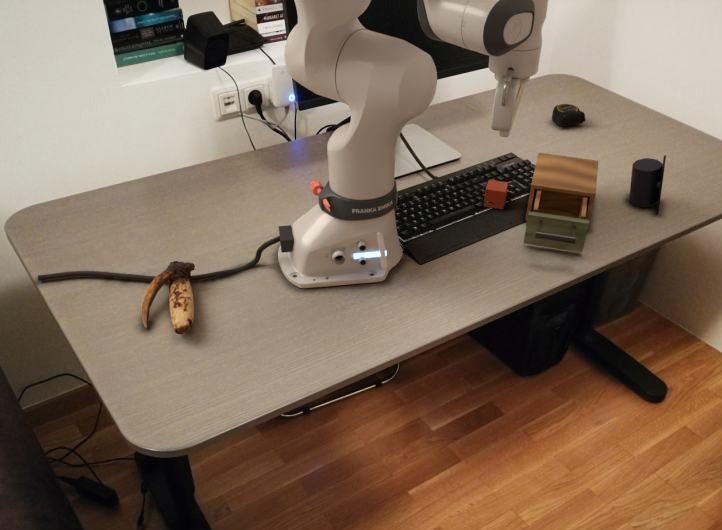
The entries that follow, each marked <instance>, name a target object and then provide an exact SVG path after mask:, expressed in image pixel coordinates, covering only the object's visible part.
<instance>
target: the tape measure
mask: <svg viewBox="0 0 722 530" xmlns="http://www.w3.org/2000/svg"><path fill="white" fill-rule="evenodd" d="M551 120H552V123H554V124H556V125H558V126H560V127H569V126H575V125H581V124H583V123H584V122H586V114H585V112H583V111H582V110H580V108H579V107H578V106H576V105H574V104H570V103H561V104H560V103H559V104H557V105H555V106H554V107H553V109H552V114H551Z"/></svg>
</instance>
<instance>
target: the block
mask: <svg viewBox="0 0 722 530" xmlns="http://www.w3.org/2000/svg"><path fill="white" fill-rule="evenodd" d="M508 188H509V182H507V181H500V180H494V179H488V181H487V184H486V187H485V191H484V192H485V194H484V201H485V200H486V201H488V202H492V203H494V204H492V203H485V202H483V207H484V208H490V209H491V208H492V209H498V210H504V208H505V204H506V202H507V196H508ZM506 195H507V196H506Z"/></svg>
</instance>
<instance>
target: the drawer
mask: <svg viewBox="0 0 722 530" xmlns="http://www.w3.org/2000/svg"><path fill="white" fill-rule="evenodd" d="M587 198H588V196H582V195H575V194H568V193H561V192H554V191H547V190H540V189H537V194H536V199H535V204H534V209H533V212H531V211H529V213H528V219H527V221H526V224H525V225H526V226H525V232H524V238H523V244H525V245H531V246H536V247H537V246H538V247H543V248H548V249H549V248H550V249H556V250H563V251H569V252H575V253H583V252H584V247H585V244H586V243H585V242H586V238H587V234H588V230H589V226H590V220H585V218H586V209H587Z"/></svg>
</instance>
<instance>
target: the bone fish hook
mask: <svg viewBox="0 0 722 530" xmlns="http://www.w3.org/2000/svg"><path fill="white" fill-rule="evenodd" d="M195 268H196V265H195V263H193V262H189V261H187V262H184V261H177V260H175V261H174V260H173V261H170V262H169V265H168V266H167V268H166V269H164V270H163V271H162V272H160V273H159V274H158V275H157V277H156V278H155V279H154V280H153V281H150V283H149V284H148V286H147V288H146V290H145V292H144V294H143V297H142V300H141V303H140V319H141V322H142V324H143V326H144V329H145V330H148V329H149V323H150V311H151V307H152V305H153V303H154V301H155V299H156V296H157V295H158V293H159V292H160V290H161V289H162V288H163V286H164V285H165V284H166V283H168V293H169V295H168V301H169V305H168V309H169V312H170V320H171V323H172V327H173V329H174V333H175V334H177V335H179V336H180V335H185V334H186V333H188V332H189V330H190V328H191V327H192V325H193V324H194V319H195V318H194V314H195V309H194V307H195V306H194V304H195V303H194V301H195V300H194V299H195V298H194V294H193V289H192V285H191V281H189V277H190V276H192V274H191V273H192V271H194V270H195Z"/></svg>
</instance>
